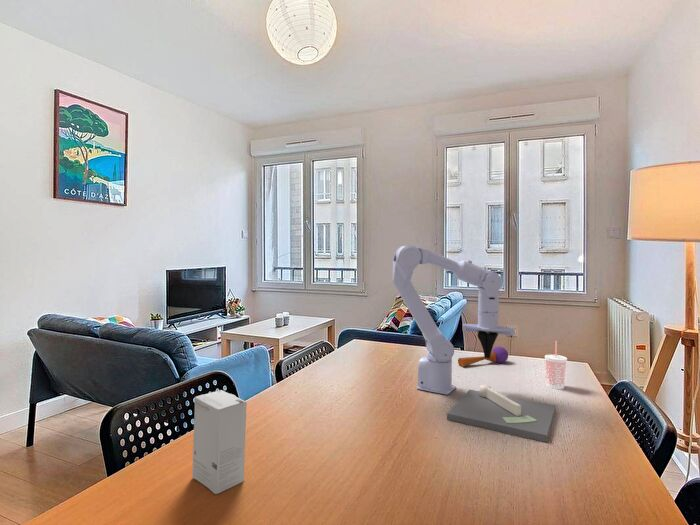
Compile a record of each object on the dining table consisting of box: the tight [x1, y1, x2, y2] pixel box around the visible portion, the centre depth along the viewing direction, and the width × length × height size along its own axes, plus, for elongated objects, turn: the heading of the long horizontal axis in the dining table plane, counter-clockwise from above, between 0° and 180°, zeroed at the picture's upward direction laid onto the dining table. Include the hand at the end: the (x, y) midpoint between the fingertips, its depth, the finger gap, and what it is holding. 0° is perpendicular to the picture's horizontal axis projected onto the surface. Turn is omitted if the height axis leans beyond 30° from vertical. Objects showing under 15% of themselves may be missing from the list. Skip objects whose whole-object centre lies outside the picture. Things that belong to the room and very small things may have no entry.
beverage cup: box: [544, 340, 568, 390], centre depth 123 cm, size 6×6×14 cm
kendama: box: [457, 345, 509, 368], centre depth 148 cm, size 6×6×20 cm
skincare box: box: [191, 389, 248, 495], centre depth 73 cm, size 8×6×15 cm
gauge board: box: [446, 389, 557, 443], centre depth 102 cm, size 22×20×2 cm
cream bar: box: [478, 384, 521, 416], centre depth 105 cm, size 16×3×2 cm, turn 15°
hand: (487, 357), depth 121 cm, fingers closed
